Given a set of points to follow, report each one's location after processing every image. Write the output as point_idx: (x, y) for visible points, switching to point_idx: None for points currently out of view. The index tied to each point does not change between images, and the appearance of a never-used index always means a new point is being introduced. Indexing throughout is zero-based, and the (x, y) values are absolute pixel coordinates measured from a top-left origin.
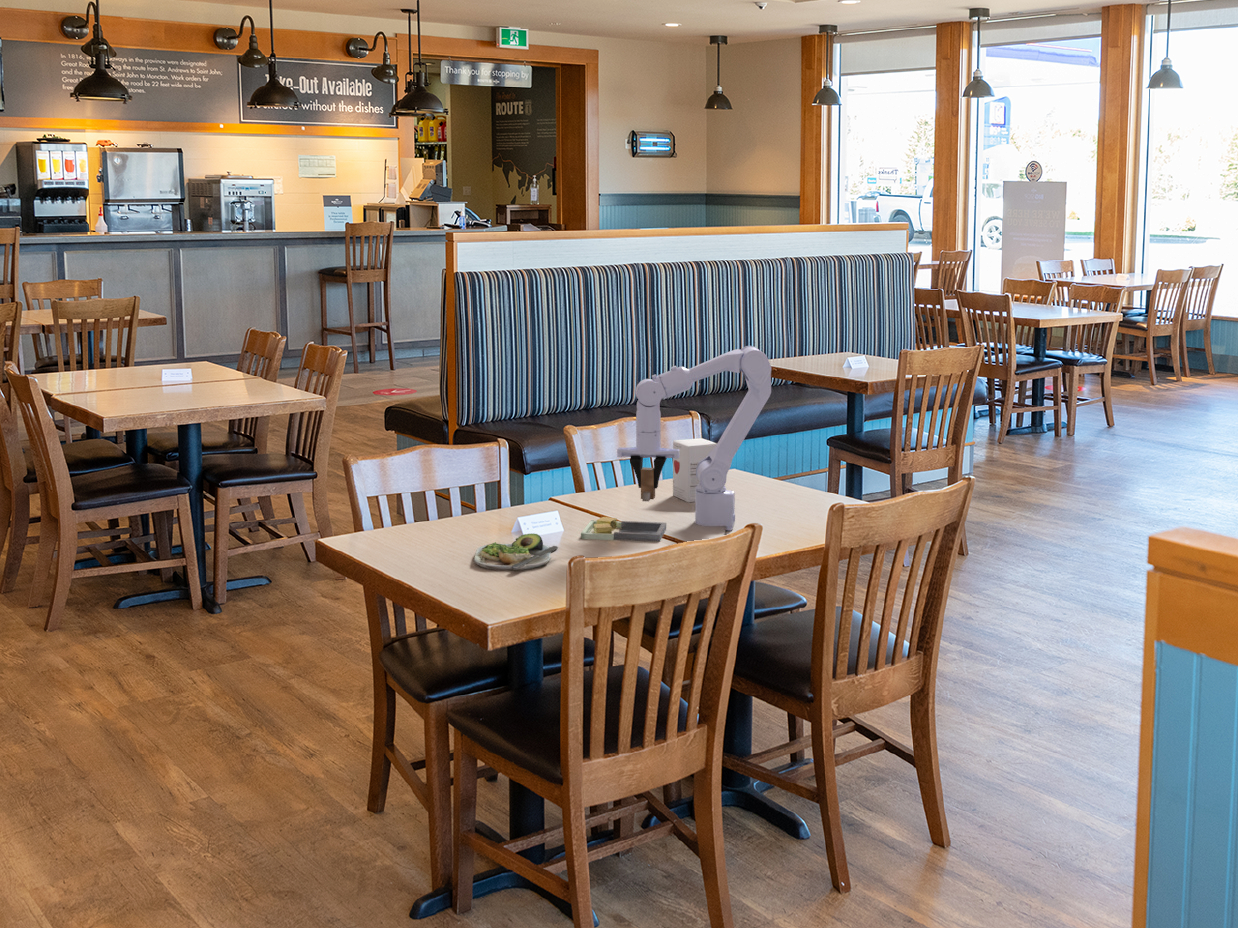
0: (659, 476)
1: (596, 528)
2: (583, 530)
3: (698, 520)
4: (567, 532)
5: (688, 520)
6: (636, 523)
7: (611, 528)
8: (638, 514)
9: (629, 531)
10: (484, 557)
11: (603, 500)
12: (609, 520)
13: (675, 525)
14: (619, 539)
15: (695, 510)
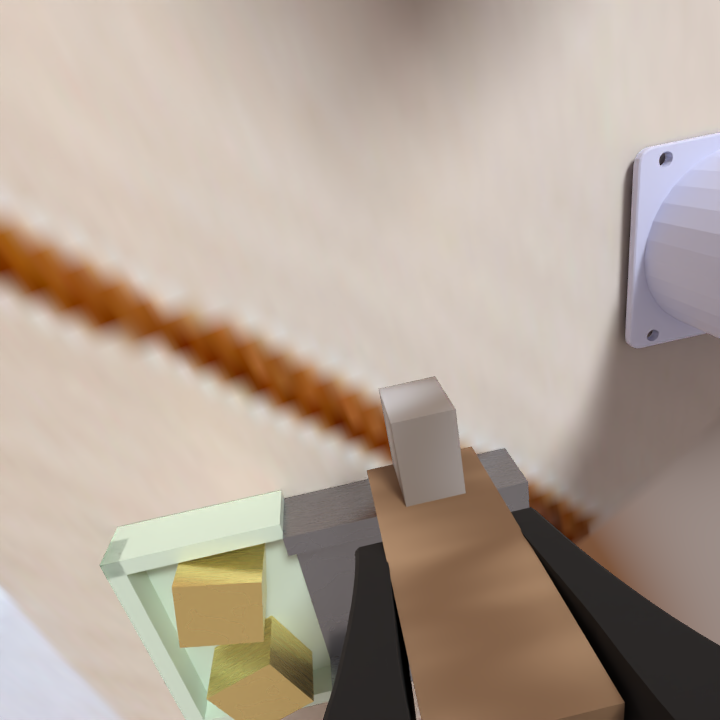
0: (609, 582)
1: None
2: (178, 703)
3: (688, 323)
4: (42, 605)
5: (583, 137)
6: (371, 534)
7: (312, 694)
8: (195, 84)
9: (351, 560)
10: None
11: None
12: (247, 627)
13: (522, 290)
14: None
15: (709, 301)
